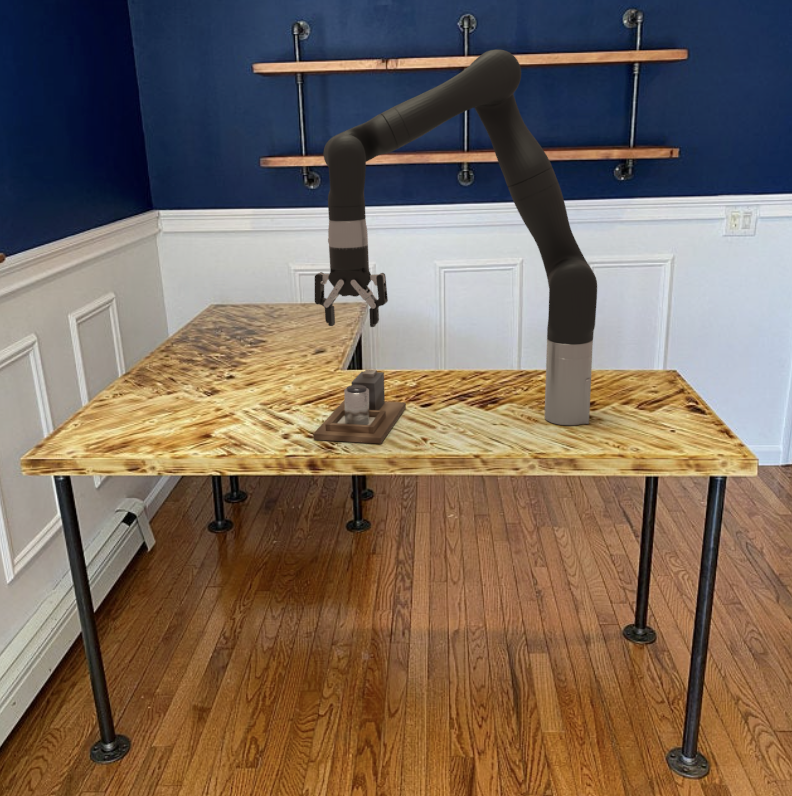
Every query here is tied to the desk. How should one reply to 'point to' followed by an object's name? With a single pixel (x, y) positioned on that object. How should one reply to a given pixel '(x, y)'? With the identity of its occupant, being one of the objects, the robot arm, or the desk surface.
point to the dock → (379, 415)
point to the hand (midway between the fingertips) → (352, 325)
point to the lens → (356, 405)
